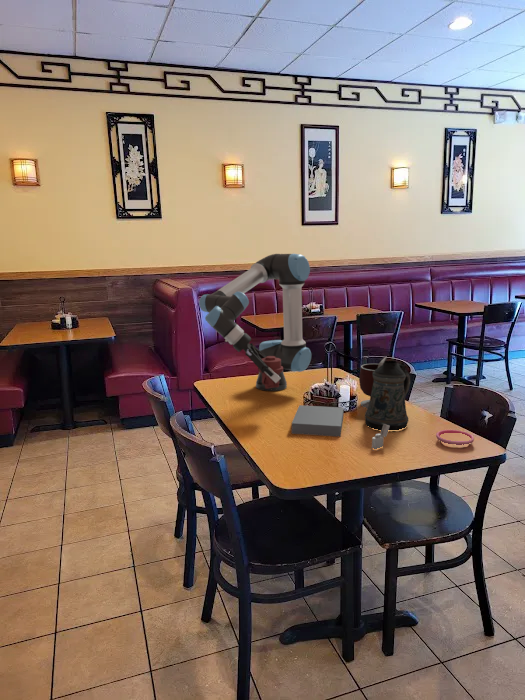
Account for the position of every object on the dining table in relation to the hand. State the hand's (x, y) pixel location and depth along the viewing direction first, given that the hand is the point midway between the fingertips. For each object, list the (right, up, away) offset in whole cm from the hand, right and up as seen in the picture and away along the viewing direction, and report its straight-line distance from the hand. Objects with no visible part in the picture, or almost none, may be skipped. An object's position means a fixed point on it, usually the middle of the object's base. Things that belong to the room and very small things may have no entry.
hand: (278, 377), depth 206 cm
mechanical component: (-3, -4, +1) cm, 5 cm away
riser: (+16, -18, -6) cm, 25 cm away
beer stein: (+42, -18, -6) cm, 46 cm away
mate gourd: (+43, -13, +18) cm, 49 cm away
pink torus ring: (+61, -22, -25) cm, 70 cm away
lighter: (+34, -23, -29) cm, 50 cm away
